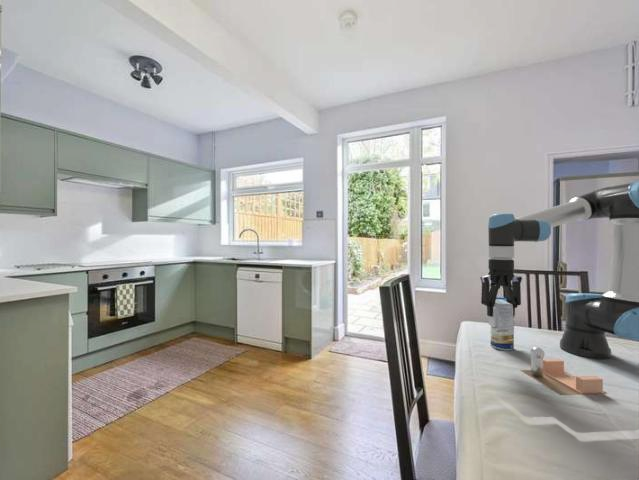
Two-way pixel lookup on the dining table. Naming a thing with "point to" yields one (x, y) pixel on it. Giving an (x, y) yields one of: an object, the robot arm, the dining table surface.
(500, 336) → the beverage bottle
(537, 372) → the light bulb
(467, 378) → the dining table surface
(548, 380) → the board
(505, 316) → the medicine box
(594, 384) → the end holder
